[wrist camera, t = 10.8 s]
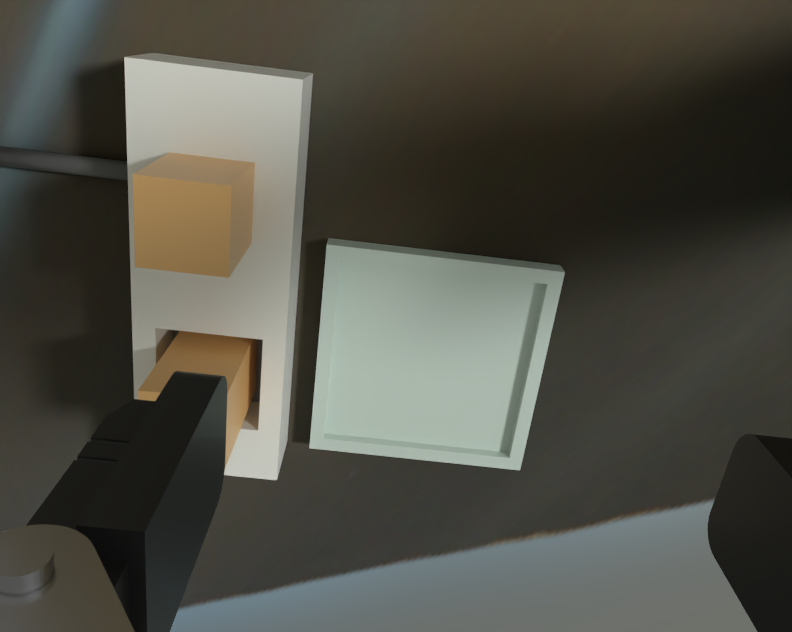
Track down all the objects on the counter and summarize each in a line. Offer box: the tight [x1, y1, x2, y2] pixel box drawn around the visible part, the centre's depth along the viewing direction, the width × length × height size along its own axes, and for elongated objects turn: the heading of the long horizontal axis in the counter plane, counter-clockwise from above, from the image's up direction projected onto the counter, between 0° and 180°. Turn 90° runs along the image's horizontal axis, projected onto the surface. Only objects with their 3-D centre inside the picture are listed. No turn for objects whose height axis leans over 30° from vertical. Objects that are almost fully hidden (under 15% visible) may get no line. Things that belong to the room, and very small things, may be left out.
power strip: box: [0, 53, 313, 480], centre depth 35 cm, size 16×22×9 cm
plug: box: [138, 331, 257, 468], centre depth 37 cm, size 4×4×8 cm
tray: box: [309, 238, 565, 470], centre depth 41 cm, size 13×13×1 cm
